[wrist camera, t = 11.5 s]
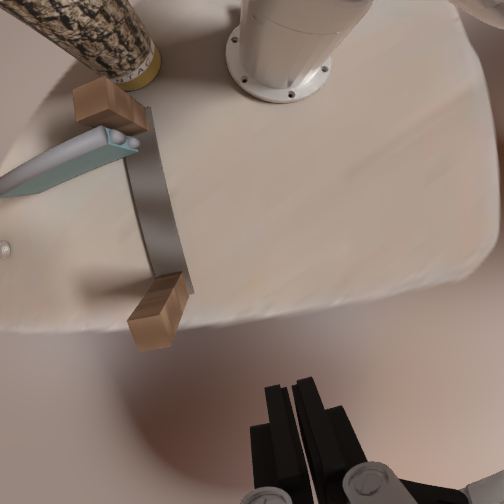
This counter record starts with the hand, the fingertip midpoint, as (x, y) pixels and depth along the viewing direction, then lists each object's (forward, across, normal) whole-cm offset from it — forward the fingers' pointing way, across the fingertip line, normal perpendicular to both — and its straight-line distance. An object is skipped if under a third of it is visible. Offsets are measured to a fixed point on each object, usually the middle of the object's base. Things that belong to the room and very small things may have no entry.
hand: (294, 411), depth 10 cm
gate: (+26, +17, -14) cm, 34 cm away
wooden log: (+27, +9, -25) cm, 38 cm away
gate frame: (+27, +10, -8) cm, 30 cm away
